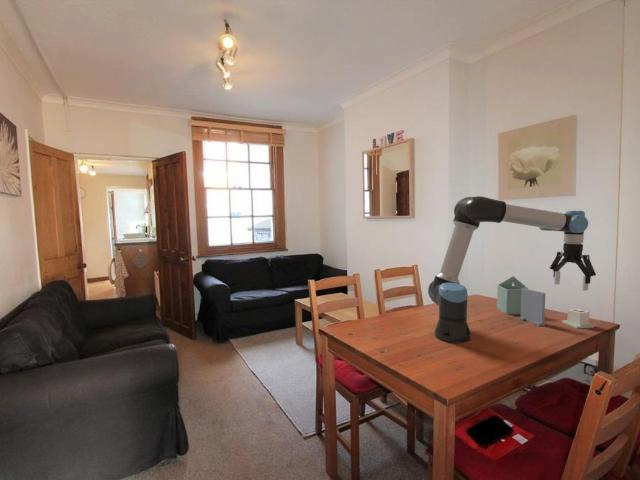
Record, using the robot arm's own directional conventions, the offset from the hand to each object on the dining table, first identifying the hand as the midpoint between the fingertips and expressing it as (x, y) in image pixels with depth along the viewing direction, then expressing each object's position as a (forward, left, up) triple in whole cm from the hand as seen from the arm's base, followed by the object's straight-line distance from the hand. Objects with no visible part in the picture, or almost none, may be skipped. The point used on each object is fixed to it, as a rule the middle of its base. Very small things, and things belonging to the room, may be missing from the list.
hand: (570, 287), depth 165 cm
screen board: (-14, +7, -19) cm, 24 cm away
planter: (-15, +23, -19) cm, 34 cm away
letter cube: (+5, 0, -18) cm, 18 cm away
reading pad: (+5, 0, -19) cm, 19 cm away
